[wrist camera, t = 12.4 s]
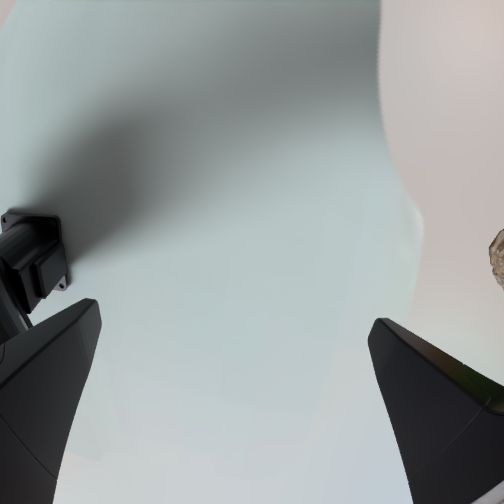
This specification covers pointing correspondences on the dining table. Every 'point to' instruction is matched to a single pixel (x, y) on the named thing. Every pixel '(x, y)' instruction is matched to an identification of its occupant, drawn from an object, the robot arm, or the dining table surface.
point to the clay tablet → (498, 257)
